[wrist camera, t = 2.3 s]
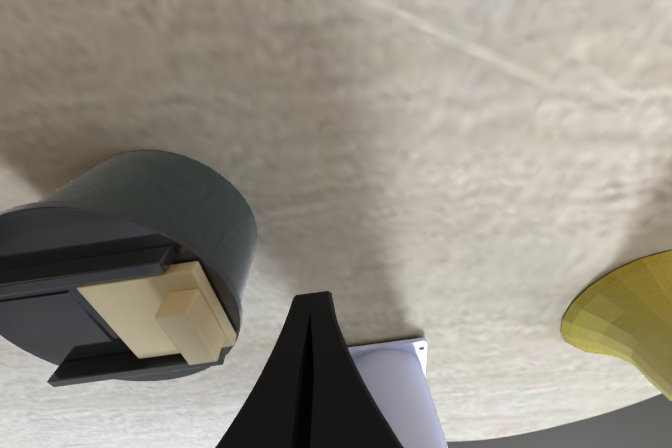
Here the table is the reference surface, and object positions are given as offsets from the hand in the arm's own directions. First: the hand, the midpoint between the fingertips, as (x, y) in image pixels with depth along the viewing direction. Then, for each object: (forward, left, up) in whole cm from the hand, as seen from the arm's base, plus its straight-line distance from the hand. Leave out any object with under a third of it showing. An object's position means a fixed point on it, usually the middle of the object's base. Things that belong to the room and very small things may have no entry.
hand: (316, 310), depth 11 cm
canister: (0, +9, -8) cm, 12 cm away
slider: (0, +6, -1) cm, 6 cm away
